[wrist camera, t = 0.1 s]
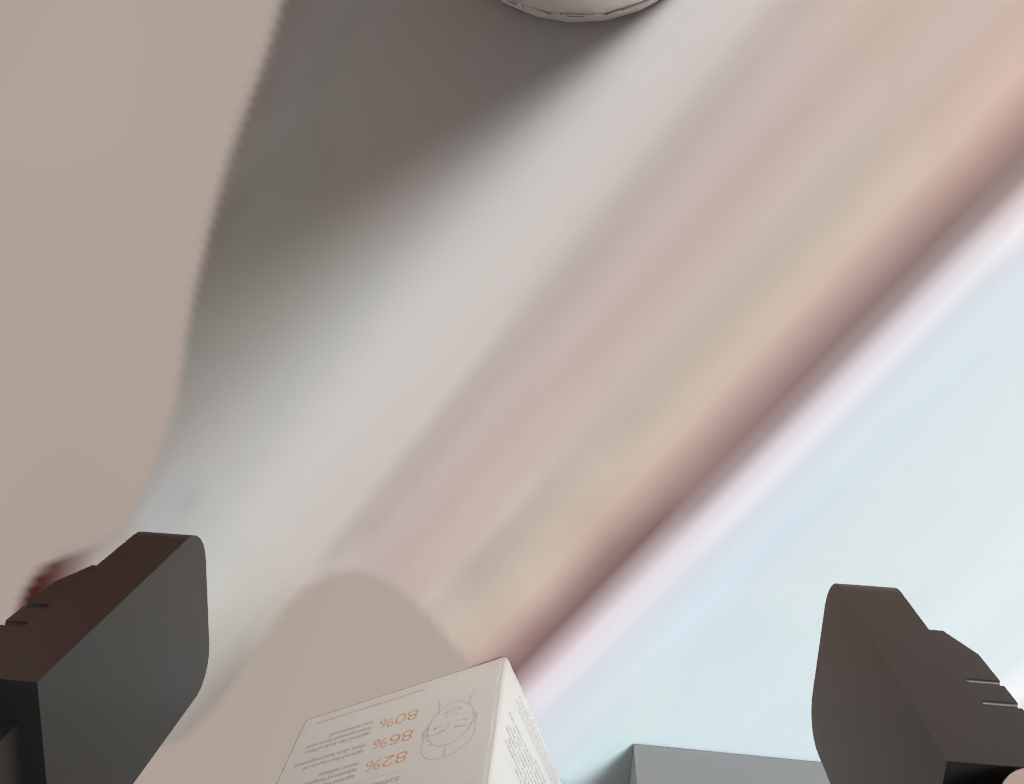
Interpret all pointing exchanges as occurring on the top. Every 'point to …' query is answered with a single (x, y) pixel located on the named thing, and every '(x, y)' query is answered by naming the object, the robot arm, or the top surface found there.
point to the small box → (429, 736)
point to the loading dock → (718, 768)
